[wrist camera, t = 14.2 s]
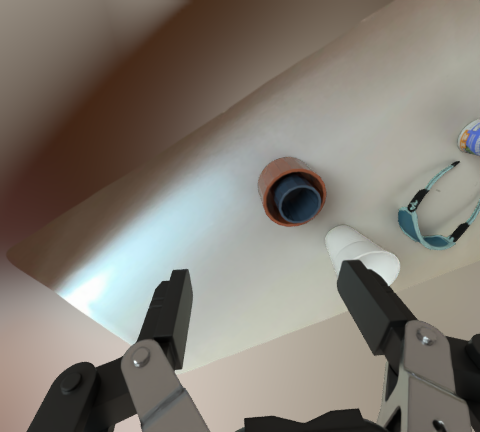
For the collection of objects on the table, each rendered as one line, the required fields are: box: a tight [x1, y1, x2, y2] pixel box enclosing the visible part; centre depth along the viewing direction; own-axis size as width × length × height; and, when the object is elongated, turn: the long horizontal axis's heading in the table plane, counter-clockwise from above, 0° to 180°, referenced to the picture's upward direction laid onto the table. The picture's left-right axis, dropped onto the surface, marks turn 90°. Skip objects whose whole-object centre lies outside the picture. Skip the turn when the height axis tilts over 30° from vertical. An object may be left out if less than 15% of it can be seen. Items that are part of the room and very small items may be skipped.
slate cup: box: [270, 172, 321, 223], centre depth 36 cm, size 6×6×8 cm
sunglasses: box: [398, 161, 480, 250], centre depth 42 cm, size 14×15×5 cm
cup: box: [325, 225, 400, 286], centre depth 41 cm, size 10×10×11 cm
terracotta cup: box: [258, 157, 326, 227], centre depth 37 cm, size 10×10×6 cm
